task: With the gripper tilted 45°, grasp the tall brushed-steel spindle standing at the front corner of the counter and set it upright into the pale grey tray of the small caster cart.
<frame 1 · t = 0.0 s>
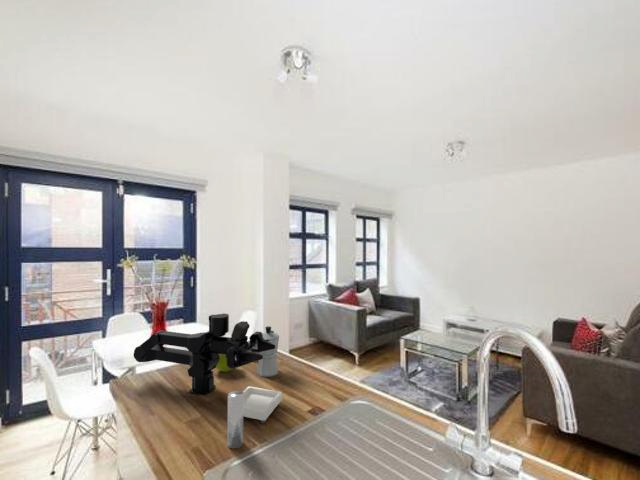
hand: (269, 351, 102), 17 cm above the kitchen counter, tool horizontal, fingers open, 9 cm apart
spindle: (235, 443, 82), on the kitchen counter
fruit: (226, 370, 125), on the kitchen counter
cart: (256, 411, 97), on the kitchen counter
lighter: (255, 358, 138), on the kitchen counter
coffee maker: (268, 371, 126), on the kitchen counter
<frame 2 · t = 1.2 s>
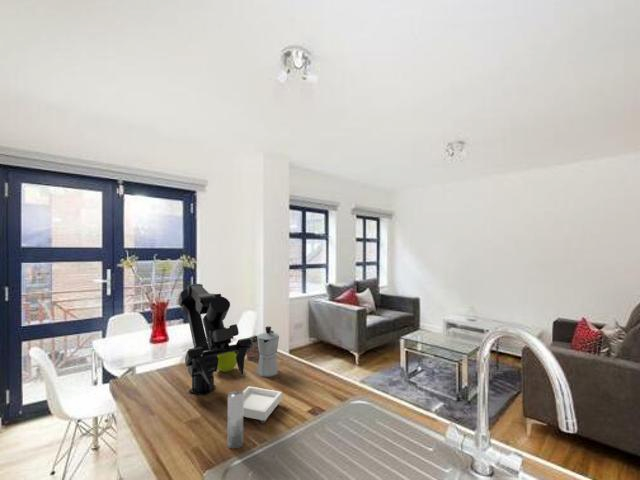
hand: (226, 379, 89), 14 cm above the kitchen counter, tool tilted 45°, fingers open, 9 cm apart
nothing on the kitchen counter moved.
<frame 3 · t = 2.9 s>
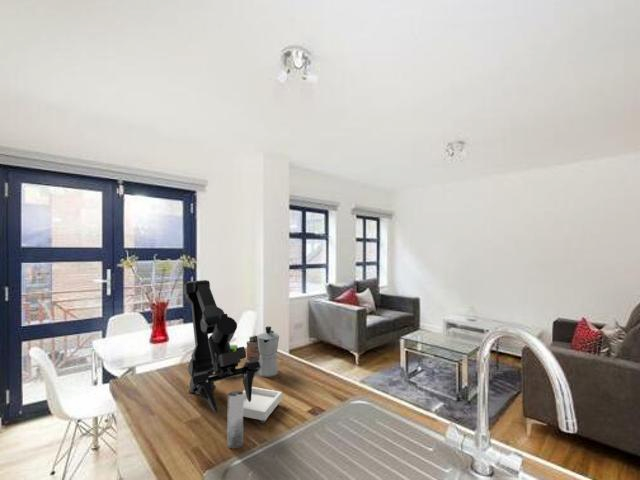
hand: (233, 406, 83), 9 cm above the kitchen counter, tool tilted 45°, fingers open, 9 cm apart
nothing on the kitchen counter moved.
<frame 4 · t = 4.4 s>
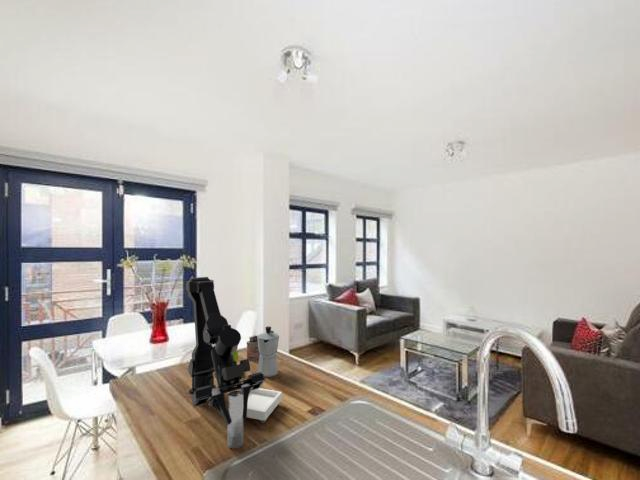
hand: (237, 421, 81), 7 cm above the kitchen counter, tool tilted 45°, fingers closed on spindle, 4 cm apart
spindle: (235, 443, 82), on the kitchen counter, touching gripper
everything else where it was.
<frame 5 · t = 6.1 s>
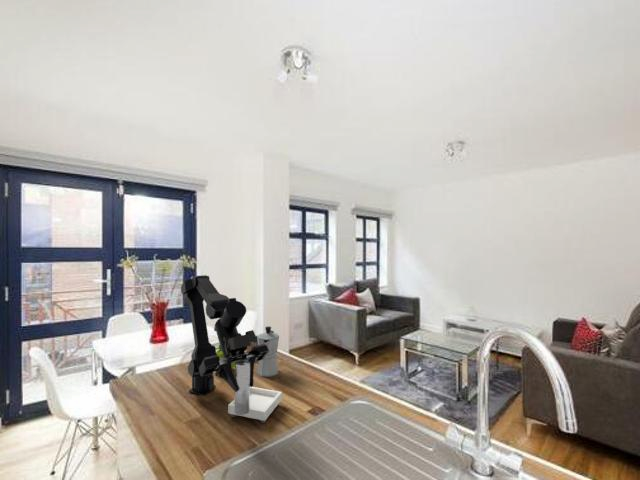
hand: (244, 388, 84), 14 cm above the kitchen counter, tool tilted 45°, fingers closed on spindle, 4 cm apart
spindle: (242, 410, 85), point 7 cm above the kitchen counter, touching gripper
everything else where it was.
when the fingers open (11 cm above the kitchen counter, at t = 8.1 s): spindle drops 1 cm, resting on cart.
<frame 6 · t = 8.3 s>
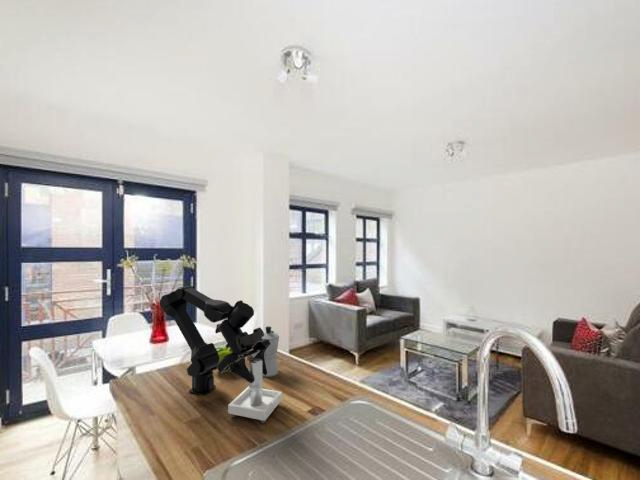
hand: (259, 378, 96), 11 cm above the kitchen counter, tool tilted 45°, fingers open, 6 cm apart
spindle: (255, 402, 97), point 3 cm above the kitchen counter, touching cart
cart: (256, 411, 97), on the kitchen counter, touching spindle
everything else where it was.
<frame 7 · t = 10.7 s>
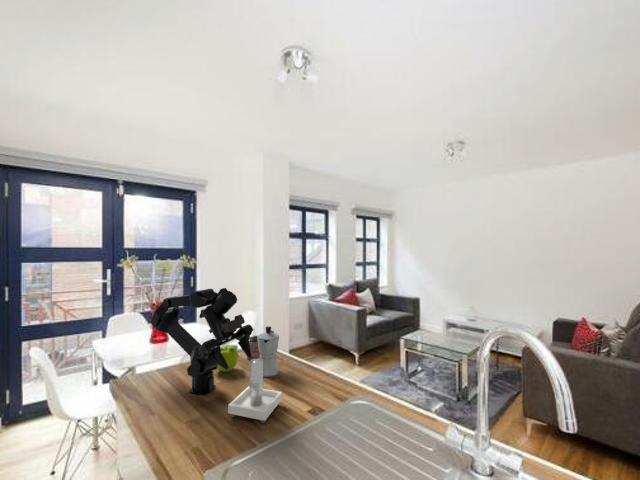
hand: (239, 362, 101), 13 cm above the kitchen counter, tool tilted 40°, fingers open, 9 cm apart
nothing on the kitchen counter moved.
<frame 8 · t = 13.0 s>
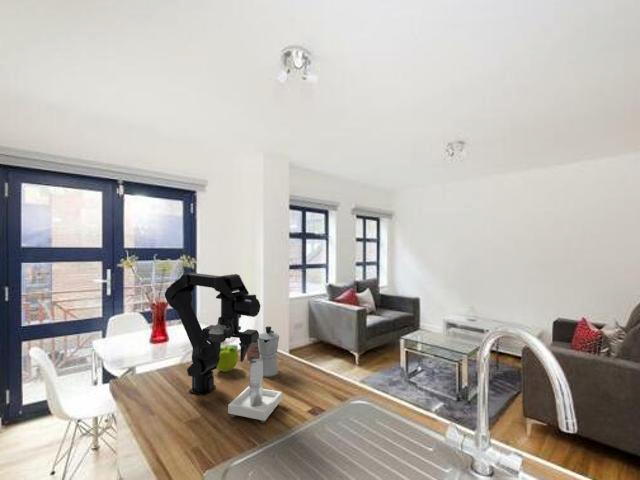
hand: (229, 359, 104), 13 cm above the kitchen counter, tool pointing down, fingers open, 9 cm apart
nothing on the kitchen counter moved.
at the end: spindle inside the target area on the cart (0.0 cm from its centre), point 2.6 cm above the cart's base; spindle tilted 0°; cart moved 0.0 cm from its start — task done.
